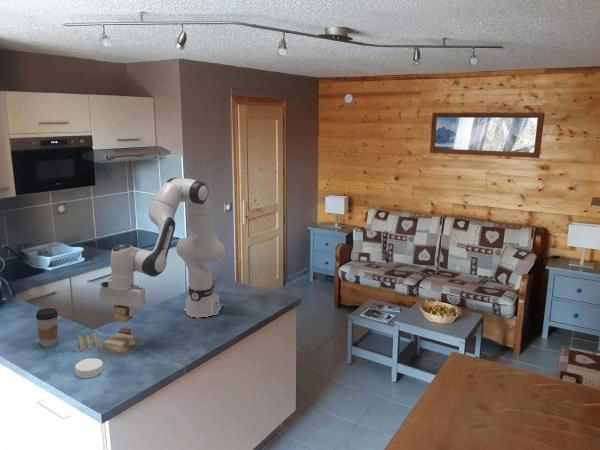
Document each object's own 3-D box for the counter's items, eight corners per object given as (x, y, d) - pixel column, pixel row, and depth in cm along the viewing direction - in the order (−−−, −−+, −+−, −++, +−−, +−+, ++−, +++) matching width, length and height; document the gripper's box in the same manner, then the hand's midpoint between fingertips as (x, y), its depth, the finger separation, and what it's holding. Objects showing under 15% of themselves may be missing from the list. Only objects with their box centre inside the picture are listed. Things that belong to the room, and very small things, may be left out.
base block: (118, 341, 213) (118, 332, 212) (134, 344, 211) (134, 335, 210) (103, 351, 203) (103, 342, 202) (120, 354, 201) (120, 345, 200)
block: (122, 336, 218) (121, 327, 217) (130, 336, 218) (130, 328, 217) (118, 340, 214) (118, 331, 213) (127, 340, 214) (127, 332, 213)
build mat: (121, 336, 219) (121, 334, 219) (148, 341, 216) (148, 339, 215) (94, 353, 202) (94, 352, 202) (123, 359, 199) (123, 357, 198)
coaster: (89, 381, 182) (88, 372, 181) (69, 375, 185) (68, 366, 185) (109, 369, 191) (108, 361, 190) (89, 363, 194) (89, 355, 194)
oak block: (121, 316, 207) (121, 303, 206) (132, 318, 206) (131, 304, 205) (114, 320, 203) (114, 307, 201) (124, 322, 201) (124, 309, 200)
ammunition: (77, 335, 208) (79, 342, 201) (96, 332, 211) (99, 339, 205) (78, 345, 209) (80, 353, 202) (97, 342, 212) (99, 350, 206)
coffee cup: (48, 350, 203) (46, 316, 200) (33, 346, 206) (30, 312, 203) (64, 342, 211) (62, 309, 208) (49, 338, 213) (47, 306, 210)
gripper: (149, 284, 201) (149, 315, 204) (106, 277, 207) (107, 308, 209) (140, 288, 196) (140, 321, 198) (96, 282, 201) (97, 313, 203)
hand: (123, 314), depth 204 cm, fingers closed on oak block, 5 cm apart
